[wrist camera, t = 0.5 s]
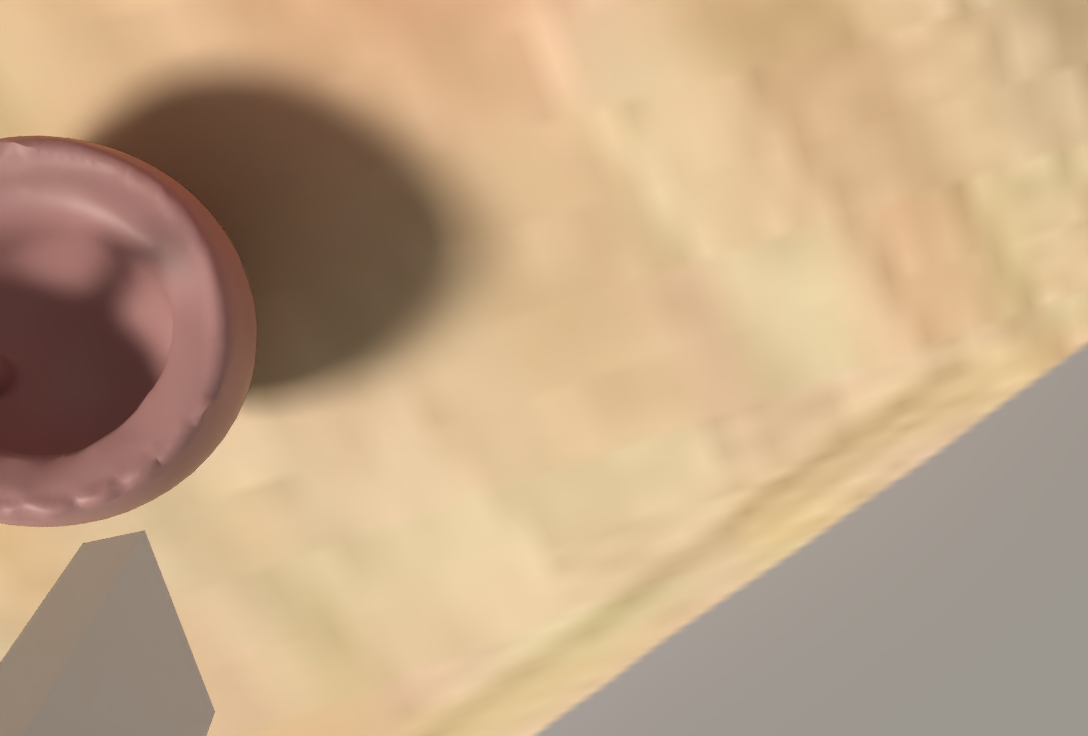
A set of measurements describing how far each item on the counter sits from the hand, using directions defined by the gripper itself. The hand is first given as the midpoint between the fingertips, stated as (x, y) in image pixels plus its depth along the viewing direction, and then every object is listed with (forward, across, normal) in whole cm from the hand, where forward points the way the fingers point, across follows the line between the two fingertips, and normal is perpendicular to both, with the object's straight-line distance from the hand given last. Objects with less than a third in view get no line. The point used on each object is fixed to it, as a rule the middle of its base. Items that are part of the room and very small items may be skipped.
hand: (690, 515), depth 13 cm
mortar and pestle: (+26, -16, -1) cm, 31 cm away
